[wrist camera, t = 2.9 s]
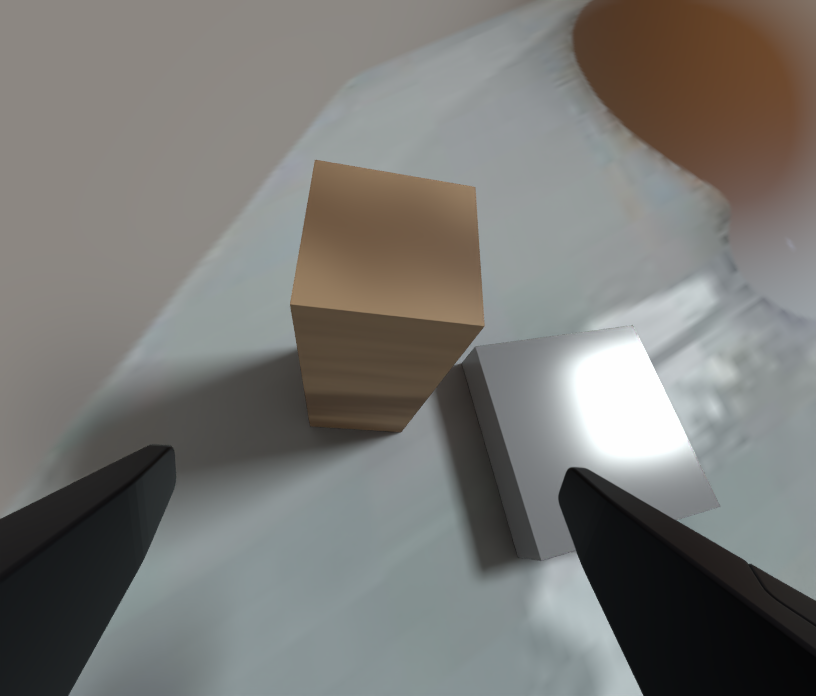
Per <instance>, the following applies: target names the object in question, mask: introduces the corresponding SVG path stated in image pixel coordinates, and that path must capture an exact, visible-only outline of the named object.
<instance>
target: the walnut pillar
mask: <svg viewBox="0 0 816 696" xmlns="http://www.w3.org/2000/svg"><path fill="white" fill-rule="evenodd" d="M290 307H291V313H292V319H293V325H294V331H295V337H296V343H297V349H298V356H299V362H300V368H301V374H302V380H303V386H304V392H305V398H306V404H307V410H308V416H309V423H310V426H314V427H329V428H344V429H360V430H375V431H390V432H402V431H403V429H404V428H405V427H406V426H407V424H408V423H409V422H410V420H411V419H412V418H413V417H414V415H415V414H416V413H417V411H418V410H419V409H420V408H421V406H422V405H423V404H424V403H425V401H426V400H427V399H428V397H429V396H430V395H431V394H432V392H433V391H434V390H435V389H436V387H437V386H438V385H439V383H440V382H441V381H442V380H443V378H444V377H445V376H446V375H447V373H448V372H449V371H450V369H451V368H452V367H453V366H454V364H455V363H456V362H457V360H458V359H459V358H460V357H461V355H462V354H463V353H464V352H465V350H466V349H467V348H468V346H469V345H470V344H471V343H472V341H473V340H474V339H475V338H476V336H477V335H478V334H479V332H480V331H481V330H482V329H483V327H484V311H483V296H482V281H481V266H480V251H479V236H478V220H477V205H476V190H475V187H472V186H466V185H460V184H454V183H448V182H443V181H437V180H431V179H425V178H419V177H413V176H407V175H401V174H396V173H390V172H384V171H378V170H372V169H366V168H360V167H355V166H349V165H343V164H337V163H331V162H325V161H319V160H315V163H314V168H313V174H312V180H311V186H310V192H309V197H308V203H307V209H306V215H305V221H304V226H303V232H302V238H301V244H300V250H299V255H298V261H297V267H296V273H295V279H294V284H293V290H292V296H291V302H290Z"/></svg>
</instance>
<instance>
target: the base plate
mask: <svg viewBox="0 0 816 696" xmlns="http://www.w3.org/2000/svg"><path fill="white" fill-rule="evenodd" d="M462 365H463V369H464V372H465V376H466V379H467V383H468V386H469V390H470V393H471V397H472V400H473V403H474V407H475V410H476V414H477V417H478V421H479V424H480V428H481V431H482V435H483V438H484V442H485V445H486V448H487V452H488V455H489V459H490V462H491V466H492V469H493V473H494V476H495V480H496V483H497V486H498V490H499V493H500V497H501V500H502V504H503V507H504V511H505V514H506V518H507V521H508V524H509V528H510V531H511V535H512V538H513V542H514V545H515V549H516V552H517V556H518V557H521V558H527V559H533V560H540V561H542V560H546V559H549V558H552V557H556V556H559V555H562V554H565V553H569V552H572V551H575V550H576V549H575V547H574V544H573V541H572V538H571V536H570V533H569V530H568V527H567V525H566V522H565V519H564V516H563V514H562V511H561V508H560V505H559V501H558V494H559V491H560V488H561V485H562V482H563V479H564V476H565V473H566V471H567V469H568V468H570V467H583V468H587V469H589V470H591V471H592V472H594V473H596V474H598V475H599V476H601V477H603V478H604V479H606V480H608V481H610V482H611V483H613V484H615V485H616V486H618V487H620V488H622V489H623V490H625V491H627V492H628V493H630V494H632V495H634V496H635V497H637V498H639V499H640V500H642V501H644V502H646V503H647V504H649V505H651V506H652V507H654V508H656V509H658V510H659V511H661V512H663V513H664V514H666V515H668V516H670V517H671V518H673V519H675V520H678V519H682V518H685V517H688V516H692V515H695V514H698V513H702V512H705V511H708V510H711V509H715V508H718V507H720V504H719V502H718V500H717V498H716V496H715V494H714V492H713V490H712V488H711V486H710V484H709V482H708V480H707V477H706V475H705V473H704V471H703V469H702V467H701V465H700V463H699V461H698V459H697V457H696V455H695V453H694V451H693V448H692V446H691V444H690V442H689V440H688V438H687V436H686V434H685V432H684V430H683V428H682V426H681V424H680V422H679V419H678V417H677V415H676V413H675V411H674V409H673V407H672V405H671V403H670V401H669V399H668V397H667V395H666V393H665V390H664V388H663V386H662V384H661V382H660V380H659V378H658V376H657V374H656V372H655V370H654V368H653V366H652V364H651V361H650V359H649V357H648V355H647V353H646V351H645V349H644V347H643V345H642V343H641V341H640V339H639V337H638V334H637V332H636V330H635V328H634V326H633V325H631V326H624V327H616V328H609V329H601V330H594V331H587V332H579V333H572V334H564V335H557V336H549V337H542V338H535V339H527V340H520V341H512V342H505V343H497V344H490V345H483V346H475V348H474V349H473V350H472V351H471V352H470V354H469V355H468V356H467V357H466V358H465V360H464V361H463V362H462Z"/></svg>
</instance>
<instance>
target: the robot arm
mask: <svg viewBox="0 0 816 696" xmlns="http://www.w3.org/2000/svg"><path fill="white" fill-rule="evenodd" d="M175 483H176V467H175V453H174V449H173V447H172V446H170V445H155V444H153V445H149V446H147V447H144V448H142V449H140V450H138V451H136V452H134V453H132V454H130V455H128V456H126V457H124V458H122V459H120V460H118V461H116V462H114V463H112V464H110V465H108V466H106V467H104V468H102V469H100V470H98V471H96V472H94V473H92V474H90V475H88V476H86V477H84V478H82V479H80V480H78V481H76V482H74V483H72V484H70V485H68V486H66V487H64V488H62V489H60V490H58V491H56V492H54V493H52V494H50V495H48V496H46V497H44V498H42V499H40V500H38V501H36V502H34V503H32V504H30V505H28V506H26V507H24V508H22V509H20V510H18V511H16V512H14V513H12V514H10V515H7V516H5V517H3V518H1V519H0V696H68V695H69V694H70V692H71V690H72V688H73V686H74V685H75V683H76V681H77V679H78V677H79V676H80V674H81V672H82V670H83V668H84V667H85V665H86V663H87V661H88V659H89V658H90V656H91V654H92V652H93V650H94V649H95V647H96V645H97V643H98V641H99V640H100V638H101V636H102V634H103V632H104V631H105V629H106V627H107V625H108V624H109V622H110V620H111V618H112V616H113V615H114V613H115V611H116V609H117V607H118V606H119V604H120V602H121V600H122V598H123V597H124V595H125V593H126V591H127V589H128V588H129V586H130V584H131V582H132V580H133V579H134V577H135V575H136V573H137V571H138V570H139V568H140V566H141V564H142V562H143V560H144V558H145V556H146V554H147V551H148V549H149V547H150V545H151V542H152V540H153V537H154V535H155V533H156V530H157V528H158V526H159V523H160V521H161V519H162V516H163V514H164V512H165V509H166V507H167V505H168V502H169V500H170V497H171V495H172V493H173V490H174V487H175ZM558 501H559V505H560V508H561V511H562V514H563V516H564V519H565V522H566V525H567V527H568V530H569V533H570V536H571V538H572V541H573V544H574V547H575V549H576V552H577V555H578V557H579V560H580V562H581V565H582V567H583V569H584V571H585V574H586V576H587V578H588V580H589V582H590V584H591V586H592V588H593V591H594V593H595V595H596V597H597V599H598V601H599V603H600V605H601V607H602V610H603V612H604V614H605V616H606V618H607V620H608V622H609V624H610V626H611V628H612V631H613V633H614V635H615V637H616V639H617V641H618V643H619V645H620V647H621V650H622V652H623V654H624V656H625V658H626V660H627V662H628V664H629V666H630V669H631V671H632V673H633V675H634V677H635V679H636V681H637V683H638V685H639V687H640V690H641V692H642V694H643V696H816V601H815V600H813V599H812V598H810V597H808V596H806V595H804V594H803V593H801V592H799V591H797V590H796V589H794V588H792V587H790V586H789V585H787V584H785V583H783V582H782V581H780V580H778V579H776V578H774V577H773V576H771V575H769V574H768V573H766V572H764V571H762V570H761V569H759V568H757V567H756V566H754V565H752V564H748V563H747V562H746V561H745V560H743V559H742V558H740V557H738V556H737V555H735V554H733V553H731V552H730V551H728V550H726V549H725V548H723V547H721V546H719V545H718V544H716V543H714V542H713V541H711V540H709V539H707V538H706V537H704V536H702V535H701V534H699V533H697V532H695V531H694V530H692V529H690V528H689V527H687V526H685V525H683V524H682V523H680V522H678V521H677V520H675V519H673V518H671V517H670V516H668V515H666V514H664V513H663V512H661V511H659V510H658V509H656V508H654V507H652V506H651V505H649V504H647V503H646V502H644V501H642V500H640V499H639V498H637V497H635V496H634V495H632V494H630V493H628V492H627V491H625V490H623V489H622V488H620V487H618V486H616V485H615V484H613V483H611V482H610V481H608V480H606V479H604V478H603V477H601V476H599V475H598V474H596V473H594V472H592V471H591V470H589V469H587V468H583V467H570V468H568V469H567V471H566V473H565V476H564V479H563V482H562V485H561V488H560V491H559V494H558Z"/></svg>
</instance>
